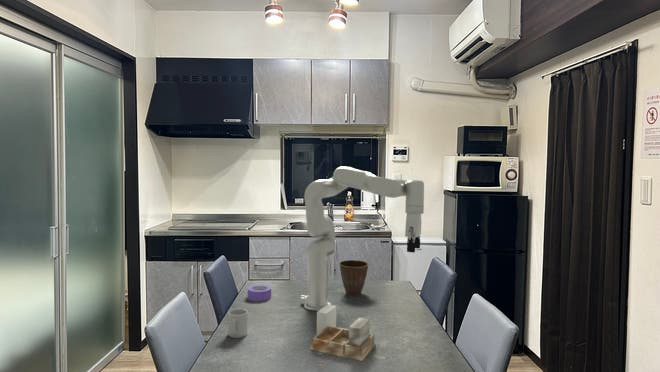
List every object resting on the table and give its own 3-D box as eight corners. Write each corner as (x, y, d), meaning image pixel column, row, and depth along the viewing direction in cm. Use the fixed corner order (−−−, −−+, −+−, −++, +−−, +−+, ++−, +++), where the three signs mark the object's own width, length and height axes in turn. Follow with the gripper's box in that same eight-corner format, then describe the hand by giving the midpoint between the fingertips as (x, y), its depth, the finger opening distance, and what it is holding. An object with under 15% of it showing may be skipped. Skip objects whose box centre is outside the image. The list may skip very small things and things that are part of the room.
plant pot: (368, 298, 205) (369, 267, 205) (339, 298, 205) (339, 266, 205) (366, 289, 220) (367, 260, 219) (339, 289, 220) (339, 260, 220)
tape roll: (276, 297, 205) (276, 287, 205) (257, 303, 197) (257, 293, 196) (261, 292, 213) (261, 283, 213) (242, 297, 204) (242, 288, 204)
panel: (316, 334, 160) (316, 311, 160) (327, 325, 169) (327, 304, 169) (325, 336, 159) (326, 313, 158) (336, 327, 168) (336, 305, 167)
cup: (249, 331, 163) (249, 309, 162) (241, 341, 153) (241, 318, 152) (232, 330, 163) (232, 308, 163) (223, 340, 153) (223, 317, 153)
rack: (310, 349, 147) (311, 322, 146) (327, 335, 160) (327, 309, 159) (362, 361, 138) (362, 332, 138) (375, 344, 152) (375, 318, 151)
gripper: (410, 207, 181) (409, 245, 182) (400, 211, 165) (399, 252, 166) (427, 208, 178) (426, 247, 179) (419, 212, 162) (418, 254, 163)
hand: (413, 250), depth 172 cm, fingers open, 9 cm apart
